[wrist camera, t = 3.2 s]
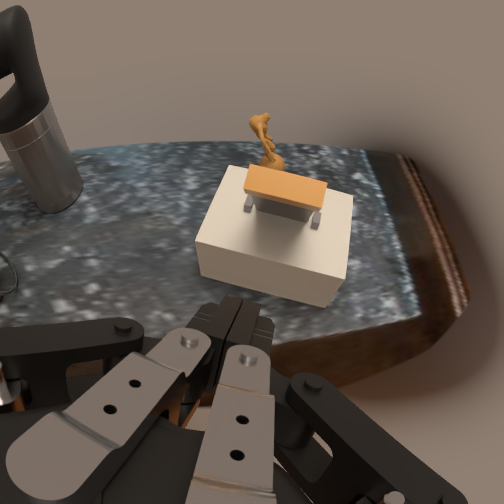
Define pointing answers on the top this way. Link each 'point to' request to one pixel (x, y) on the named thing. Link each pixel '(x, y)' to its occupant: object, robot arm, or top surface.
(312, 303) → the breaker housing
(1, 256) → the binoculars
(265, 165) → the figurine
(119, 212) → the top surface
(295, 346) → the top surface
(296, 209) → the handle
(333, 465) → the robot arm
